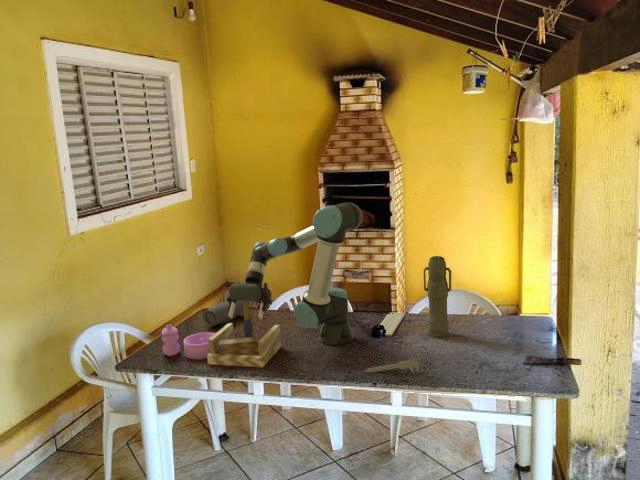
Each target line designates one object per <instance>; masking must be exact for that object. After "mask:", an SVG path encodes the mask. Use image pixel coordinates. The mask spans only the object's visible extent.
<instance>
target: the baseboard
mask: <svg viewBox="0 0 640 480" xmlns="http://www.w3.org/2000/svg"><path fill="white" fill-rule="evenodd" d="M385 313H386V316H385V317H384V319H383V320H382V321H381V322H380V324H379V325H383V326H384V327H385V329H386V333H385V336H384V337H393V335H394V334H395V332H396V331H397V329H398V327H399V325H400V324H401V322H402V321H403V319H404V317H405V316H406V312H401V311H400V310H398V309H396V310H393V311H390V312H389V311H387V312H385ZM387 313H390V314H387ZM392 313H393V314H392Z"/></svg>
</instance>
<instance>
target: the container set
mask: <svg viewBox="0 0 640 480" xmlns="http://www.w3.org/2000/svg"><path fill="white" fill-rule="evenodd" d="M215 333H216V332H210V331H209V332H199V333H194V334H191V335H188V336H186V337H184V339H183V341H182V342H183V348H184V356H185V357H186V358H187V359H188V360H189V359H191V360H205V358H206V359H207V355H208V354H209V345H208V339H209V338H210V337H212V336H213V335H214V334H215ZM179 337H180V336H179V334H178V329H177V327H174V326H172V324H171V323H168V324H166V327H164V328H163V329H162V330H161V341H162V343H164V344H163V345H162V352H163V354H165V356H168V357H169V356H170V357H171V356H175V355H177V354H179V352H180V350H181V345H180V343H179V342H178V340H179Z"/></svg>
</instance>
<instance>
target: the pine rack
mask: <svg viewBox="0 0 640 480" xmlns="http://www.w3.org/2000/svg"><path fill="white" fill-rule="evenodd" d="M280 327H281V326H280V324H274V325H273V326H272V327H271V328H270V329H269V330H268V331H267V332H266V333H265V334H263V336H262V337H261V338H259V341H258V349H259V356H253V355H235V354H220V348H219V342H220V340H229V339H235V334H234V323H233V322H227V323H226V324H225V325H224V326H222V328H221V329H219V330H218V331H217V332H214V333H215V334H214V335H213V336H212V337H210V338H209V339H208V345H209V354H208V355H207V358H206V359H207V365H216V366H217V365H218V366H232V367H235V366H236V367H247V366H248V368H249V366H250V368H251V367H252V368H263V367H265V365H267V363H268V362H269V361H270V360H271V359H272V357H274V355H276V353H277V352H278V351H279V350H280V349H281V347H282V343H281V329H280ZM233 365H234V366H233Z"/></svg>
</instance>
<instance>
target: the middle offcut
mask: <svg viewBox="0 0 640 480" xmlns="http://www.w3.org/2000/svg"><path fill="white" fill-rule="evenodd" d="M220 354H235V355H253V356H259V349H258V348H250V349H240V350H231V351H222V352H220Z"/></svg>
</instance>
